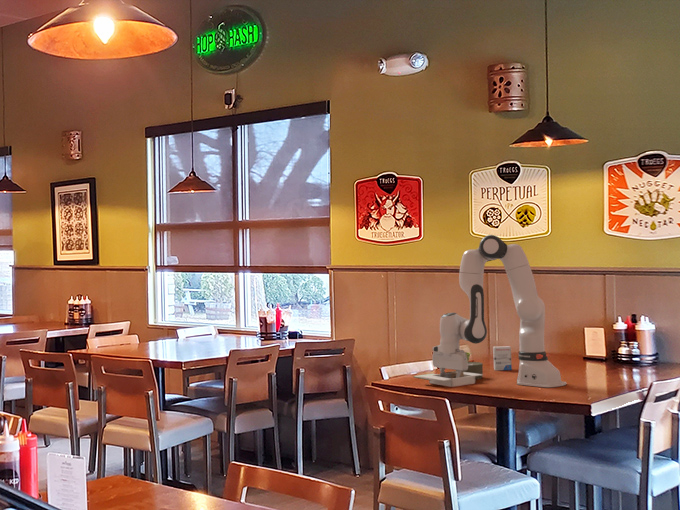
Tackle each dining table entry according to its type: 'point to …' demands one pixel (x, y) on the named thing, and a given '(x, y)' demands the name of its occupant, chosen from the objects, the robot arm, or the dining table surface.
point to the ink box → (502, 358)
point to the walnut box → (450, 374)
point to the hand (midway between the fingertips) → (450, 378)
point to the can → (475, 369)
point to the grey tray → (467, 379)
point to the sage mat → (423, 375)
